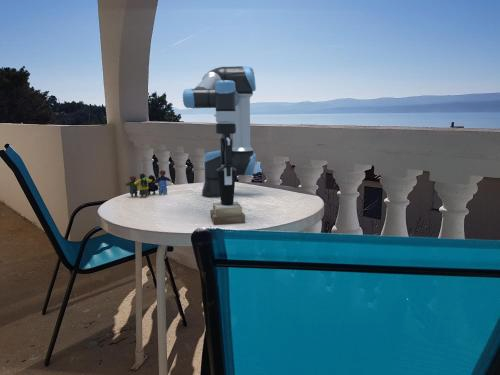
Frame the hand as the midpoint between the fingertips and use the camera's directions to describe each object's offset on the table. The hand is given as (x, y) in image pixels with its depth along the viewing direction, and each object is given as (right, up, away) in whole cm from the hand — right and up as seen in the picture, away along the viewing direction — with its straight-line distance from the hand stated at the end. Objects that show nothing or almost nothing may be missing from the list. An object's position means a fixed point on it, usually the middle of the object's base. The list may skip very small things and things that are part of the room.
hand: (226, 182), depth 144 cm
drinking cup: (0, -8, +2) cm, 8 cm away
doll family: (-43, -7, +50) cm, 66 cm away
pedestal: (0, -15, +3) cm, 15 cm away
